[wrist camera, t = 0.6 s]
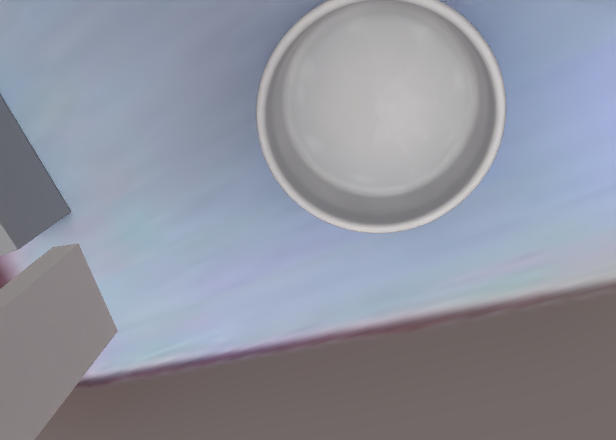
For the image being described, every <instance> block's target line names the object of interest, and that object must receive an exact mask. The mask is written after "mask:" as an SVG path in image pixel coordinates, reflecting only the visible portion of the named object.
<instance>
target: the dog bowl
mask: <svg viewBox="0 0 616 440" xmlns="http://www.w3.org/2000/svg"><path fill="white" fill-rule="evenodd" d="M505 119H506V95H505V88H504V83H503V78H502V74H501V71H500V68H499V65H498V63H497V61H496V58H495V56H494V54H493V52H492V51H491V49H490V47H489V45H488V44H487V42H486V41H485V40H484V38H483V37H482V35H481V34H480V33H479V32H478V31H477V29H476V28H475V27H474V26H473V25H472V24H471V23H470V22H469V21H468V20H467V19H466V18H465V17H463V16H462V15H461V14H460V13H458V12H457V11H456V10H454V9H453V8H451V7H450V6H448V5H447V4H445V3H443V2H441V1H439V0H327V1H326V2H324V3H322V4H320V5H318V6H317V7H315V8H314V9H312V10H311V11H309V12H308V13H307V14H305V15H304V16H303V17H302V18H300V19H299V20H298V21H297V22H296V23H295V24H294V25H293V26H292V27H291V28H290V29H289V30H288V31H287V32H286V34H285V35H284V36H283V37H282V39H281V40H280V41H279V43H278V44H277V46H276V47H275V49H274V51H273V53H272V54H271V56H270V58H269V60H268V62H267V64H266V67H265V69H264V72H263V75H262V78H261V82H260V85H259V90H258V96H257V106H256V122H257V131H258V137H259V141H260V145H261V149H262V152H263V155H264V157H265V160H266V162H267V164H268V166H269V168H270V170H271V172H272V174H273V176H274V177H275V179H276V180H277V182H278V183H279V184H280V186H281V187H282V188H283V190H284V191H285V192H286V193H287V194H288V195H289V196H290V197H291V198H292V199H293V200H294V201H295V202H296V203H297V204H298V205H299V206H301V207H302V208H303V209H305V210H306V211H307V212H309V213H310V214H312V215H314V216H315V217H317V218H319V219H321V220H323V221H325V222H327V223H329V224H332V225H335V226H337V227H340V228H344V229H348V230H352V231H357V232H364V233H391V232H399V231H404V230H409V229H412V228H416V227H419V226H422V225H424V224H427V223H429V222H431V221H433V220H435V219H437V218H439V217H441V216H443V215H444V214H446V213H447V212H449V211H450V210H452V209H453V208H454V207H456V206H457V205H458V204H460V203H461V202H462V201H463V200H464V199H465V198H466V197H467V196H468V195H469V194H470V193H471V192H472V191H473V190H474V189H475V188H476V187H477V185H478V184H479V183H480V182H481V180H482V179H483V178H484V176H485V175H486V173H487V172H488V170H489V168H490V166H491V165H492V163H493V161H494V159H495V157H496V154H497V152H498V149H499V146H500V144H501V140H502V136H503V132H504V126H505Z"/></svg>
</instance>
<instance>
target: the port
mask: <svg viewBox="0 0 616 440" xmlns="http://www.w3.org/2000/svg"><path fill="white" fill-rule="evenodd" d="M70 212H71V211H70V209H69V208H68V206H67V204H66V203H65V201H64V199H63V198H62V196H61V194H60V193H59V191H58V189H57V188H56V186H55V184H54V183H53V181H52V179H51V178H50V176H49V174H48V173H47V171H46V169H45V168H44V166H43V165H42V163H41V161H40V160H39V158H38V156H37V155H36V153H35V151H34V150H33V148H32V146H31V145H30V143H29V141H28V140H27V138H26V136H25V135H24V133H23V131H22V130H21V128H20V126H19V125H18V123H17V121H16V120H15V118H14V116H13V115H12V113H11V111H10V110H9V108H8V106H7V105H6V103H5V102H4V100H3V98H2V97H1V95H0V256H1V255H4V254H7V253H10V252H13V251H15V250H18V249H20V248H21V247H22V246H24V245H25V244H27V243H28V242H29V241H31V240H32V239H34V238H35V237H36V236H38V235H39V234H41V233H42V232H43V231H45V230H46V229H48V228H49V227H50V226H52V225H53V224H55V223H56V222H57V221H59V220H60V219H62V218H63V217H64V216H66V215H67V214H69V213H70Z"/></svg>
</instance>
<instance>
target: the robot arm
mask: <svg viewBox="0 0 616 440" xmlns="http://www.w3.org/2000/svg"><path fill="white" fill-rule="evenodd" d="M116 333H117V328H116V326H115V324H114V322H113V320H112V317H111V315H110V313H109V311H108V308H107V306H106V304H105V302H104V299H103V297H102V295H101V293H100V291H99V288H98V286H97V284H96V282H95V279H94V277H93V275H92V273H91V271H90V268H89V266H88V264H87V262H86V259H85V257H84V255H83V253H82V251H81V248H80V246H79V244H73V245H65V246H58V247H52V248H51V249H50V250H49V251H47V252H46V253H45V254H44V255H42V256H41V257H40V258H39V259H37V260H36V261H35V262H34V263H32V264H31V265H30V266H29V267H27V268H26V269H25V270H24V271H22V272H21V273H20V274H19V275H17V276H16V277H15V278H14V279H12V280H11V281H10V282H9V283H7V284H6V285H5V286H4V287H2V288H1V289H0V440H34V439H35V438H36V437H37V435H38V434H39V433H40V431H41V430H42V429H43V428H44V426H45V425H46V424H47V422H48V421H49V420H50V418H51V417H52V416H53V415H54V413H55V412H56V411H57V409H58V408H59V407H60V405H61V404H62V403H63V401H64V400H65V399H66V398H67V396H68V395H69V394H70V393H71V391H72V390H73V389H74V387H75V386H76V385H77V383H78V382H79V381H80V380H81V378H82V377H83V376H84V374H85V373H86V372H87V370H88V369H89V368H90V367H91V365H92V364H93V363H94V361H95V360H96V359H97V357H98V356H99V355H100V354H101V352H102V351H103V350H104V348H105V347H106V346H107V344H108V343H109V342H110V341H111V339H112V338H113V337H114V335H115V334H116Z"/></svg>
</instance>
